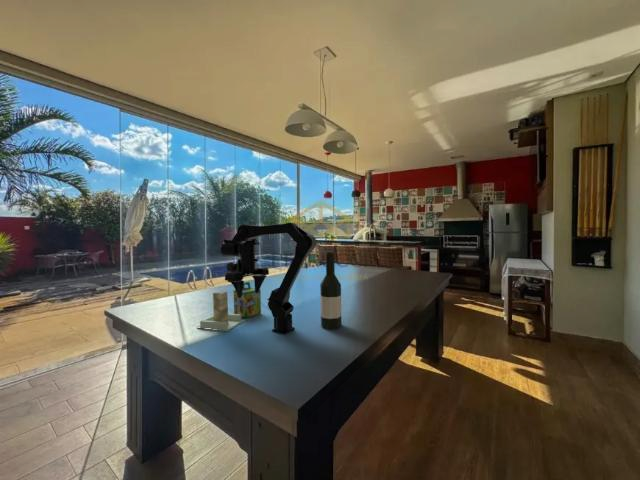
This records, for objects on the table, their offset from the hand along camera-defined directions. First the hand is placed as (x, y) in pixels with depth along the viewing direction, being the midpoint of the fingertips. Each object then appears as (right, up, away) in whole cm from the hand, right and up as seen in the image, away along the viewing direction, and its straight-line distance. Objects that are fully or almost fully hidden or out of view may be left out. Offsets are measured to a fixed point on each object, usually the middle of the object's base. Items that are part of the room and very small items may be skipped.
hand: (248, 295), depth 110 cm
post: (-13, -13, +4) cm, 18 cm away
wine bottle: (+33, -13, +1) cm, 35 cm away
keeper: (-12, -13, +4) cm, 19 cm away
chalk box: (-5, -13, +19) cm, 23 cm away
